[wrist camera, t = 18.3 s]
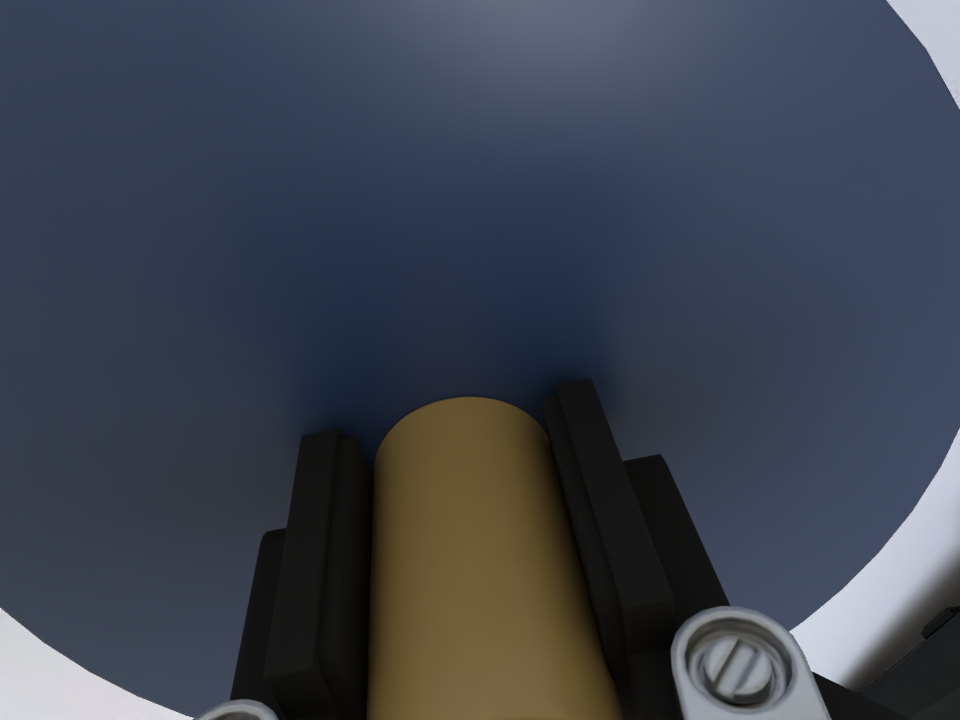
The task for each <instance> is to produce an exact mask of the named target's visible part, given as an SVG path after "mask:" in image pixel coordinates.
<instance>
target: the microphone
mask: <svg viewBox="0 0 960 720" xmlns="http://www.w3.org/2000/svg"><path fill="white" fill-rule="evenodd" d="M921 635H922V636H923V637H924V639H925V640H924V641H923V642H921V643H920V644H919V645H918V646H917V647H915V648H914V649H913V650H912V651H911V652H909V653H908V654H907V655H906V656H905V657H904V658H902V659H901V660H900V661H899V662H898V663H896V664H895V665H894V666H893V667H892V668H890V669H889V670H888V671H887V672H886V673H884V674H883V675H882V676H881V677H880V678H879V679H877V680H876V681H875V682H874V683H873V684H871V685H870V686H869V687H868V688H867V689H865V690H864V691H863V692H862V693H861V694H860V695H861V696H863V697H865V698H867V699H869V700H871V701H873V702H875V703H877V704H879V705H881V706H883V707H885V708H888V709H890V710H892V711H894V712H896V713H898V714H900V715H902V716H904V717H906V718H908V719H910V720H960V606H957V607H951V608H946V609H945V610H943V611H942V612H941V613H940V614H939V615H937V616H936V617H935V618H934V619H933V620H932V621H930V622H929V623H928V624H927V625H926V626H925V627H924V629H923V631H922V633H921Z"/></svg>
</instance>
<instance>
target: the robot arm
mask: <svg viewBox="0 0 960 720" xmlns="http://www.w3.org/2000/svg"><path fill="white" fill-rule="evenodd" d="M543 405H544V411H545V417H546V423H547V429H548V436H549V442H550V448H551V452H552V456H553V459H554V463H555V467H556V471H557V474H558V478H559V482H560V486H561V490H562V493H563V497H564V501H565V505H566V509H567V512H568V516H569V520H570V524H571V527H572V531H573V535H574V539H575V543H576V546H577V550H578V554H579V558H580V562H581V565H582V569H583V573H584V577H585V581H586V584H587V588H588V592H589V596H590V599H591V603H592V607H593V611H594V615H595V618H596V622H597V626H598V630H599V634H600V637H601V641H602V645H603V649H604V652H605V656H606V660H607V664H608V668H609V671H610V674H611V676H612V678H613V680H614V682H615V685H616V689H617V692H618V696H619V700H620V704H621V707H622V711H623V715H624V719H625V720H910V719H908V718H906V717H904V716H902V715H900V714H898V713H896V712H894V711H892V710H890V709H888V708H885V707H883V706H881V705H879V704H877V703H875V702H873V701H871V700H869V699H867V698H865V697H863V696H861V695H859V694H857V693H855V692H853V691H851V690H849V689H847V688H845V687H843V686H841V685H839V684H837V683H835V682H832V681H830V680H828V679H826V678H824V677H822V676H820V675H818V674H816V673H814V672H812V671H811V669H810V667H809V665H808V662H807V660H806V657H805V655H804V653H803V651H802V649H801V648H800V646H799V645H798V643H797V641H796V640H795V638H794V636H793V635H792V634H791V633H790V632H788V631H787V630H786V629H785V628H784V627H783V626H782V625H781V624H780V623H779V622H778V621H776V620H774V619H772V618H770V617H768V616H766V615H765V614H763V613H761V612H759V611H755V610H751V609H747V608H744V607H740V606H730V604H729V601H728V599H727V597H726V595H725V592H724V590H723V588H722V586H721V583H720V581H719V579H718V577H717V575H716V572H715V570H714V568H713V566H712V563H711V561H710V559H709V557H708V554H707V552H706V550H705V548H704V546H703V543H702V541H701V539H700V537H699V534H698V532H697V530H696V528H695V525H694V523H693V521H692V519H691V517H690V514H689V512H688V510H687V508H686V505H685V503H684V501H683V499H682V496H681V494H680V492H679V490H678V488H677V485H676V483H675V481H674V479H673V476H672V474H671V472H670V470H669V467H668V465H667V463H666V461H665V460H664V458H663V457H662V455H661V454H657V455H651V456H646V457H641V458H636V459H631V460H626V461H622V458H621V456H620V453H619V450H618V448H617V445H616V443H615V440H614V437H613V435H612V432H611V429H610V427H609V424H608V421H607V419H606V416H605V413H604V411H603V408H602V405H601V403H600V400H599V397H598V395H597V392H596V389H595V387H594V384H593V382H592V380H591V378H587V379H582V380H577V381H572V382H567V383H562V384H557V385H555V395H551V396H546V397H543ZM372 514H373V481H372V478H371V475H370V473H369V470H368V467H367V464H366V461H365V458H364V456H363V453H362V450H361V447H360V444H359V442H358V439H357V437H356V436H355V435H350V436H344V434H343V432H342V431H341V429H339V428H336V429H331V430H326V431H321V432H316V433H311V434H306V435H303V436H302V437H301V441H300V446H299V452H298V459H297V465H296V471H295V478H294V484H293V490H292V496H291V503H290V509H289V515H288V522H287V527H286V528H281V529H276V530H271V531H266V532H265V534H264V535H263V536H262V539H261V543H260V546H259V552H258V557H257V562H256V567H255V572H254V577H253V582H252V588H251V593H250V598H249V603H248V608H247V613H246V618H245V624H244V629H243V634H242V639H241V644H240V649H239V654H238V660H237V665H236V670H235V675H234V680H233V685H232V691H231V696H230V701H226V702H224V703H221V704H219V705H216V706H214V707H211V708H209V709H207V710H206V711H204V712H203V713H202V714H200V715H199V716H197V717H196V718H194V719H193V720H366V703H367V672H368V640H369V609H370V577H371V546H372Z"/></svg>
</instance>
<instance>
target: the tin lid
mask: <svg viewBox="0 0 960 720" xmlns="http://www.w3.org/2000/svg"><path fill="white" fill-rule="evenodd" d="M587 378H591V380H592V382H593V384H594V387H595V389H596V392H597V395H598V397H599V400H600V403H601V405H602V408H603V411H604V413H605V416H606V419H607V421H608V424H609V427H610V429H611V432H612V435H613V437H614V440H615V443H616V445H617V448H618V450H619V453H620V456H621V458H622V461H626V460H631V459H636V458H641V457H646V456H651V455H657V454H661V455H662V457H663V458H664V460H665V461H666V463H667V465H668V467H669V470H670V472H671V474H672V476H673V479H674V481H675V483H676V485H677V488H678V490H679V492H680V494H681V496H682V499H683V501H684V503H685V505H686V508H687V510H688V512H689V514H690V517H691V519H692V521H693V523H694V525H695V528H696V530H697V532H698V534H699V537H700V539H701V541H702V543H703V546H704V548H705V550H706V552H707V554H708V557H709V559H710V561H711V563H712V566H713V568H714V570H715V572H716V575H717V577H718V579H719V581H720V583H721V586H722V588H723V590H724V592H725V595H726V597H727V599H728V601H729V604H730V606H740V607H744V608H747V609H751V610H755V611H759V612H761V613H763V614H765V615H766V616H768V617H770V618H772V619H774V620H776V621H778V622H779V623H780V624H781V625H782V626H783V627H784V628H785V629H786V630H787V631H788V632H789V631H790V630H792V629H793V628H795V627H796V626H798V625H799V624H800V623H802V622H803V621H804V620H806V619H807V618H808V617H809V616H811V615H812V614H813V613H814V612H815V611H817V610H818V609H819V608H820V607H821V606H823V605H824V604H825V603H826V602H827V601H829V600H830V599H831V598H832V597H833V596H835V595H836V594H837V593H838V592H839V591H841V590H842V589H843V588H844V587H845V586H846V585H847V584H848V583H849V582H850V581H851V580H852V579H853V578H854V577H855V576H856V575H857V574H858V573H859V572H860V571H861V570H862V569H863V568H864V567H865V566H866V565H867V564H868V563H869V562H870V561H871V560H872V559H873V558H874V557H875V556H876V555H877V554H878V553H879V552H880V550H881V549H882V548H883V547H884V545H885V544H886V543H887V542H888V540H889V539H890V538H891V537H892V536H893V534H894V533H895V532H896V531H897V529H898V528H899V527H900V526H901V524H902V523H903V522H904V521H905V520H906V518H907V517H908V516H909V515H910V513H911V512H912V511H913V509H914V508H915V506H916V505H917V503H918V501H919V500H920V498H921V497H922V495H923V494H924V492H925V490H926V489H927V487H928V486H929V484H930V483H931V481H932V480H933V478H934V476H935V475H936V473H937V472H938V470H939V469H940V467H941V465H942V463H943V461H944V459H945V457H946V455H947V453H948V451H949V449H950V447H951V445H952V443H953V440H954V438H955V436H956V434H957V432H958V430H959V428H960V110H959V108H958V106H957V104H956V102H955V100H954V99H953V97H952V95H951V93H950V91H949V90H948V88H947V86H946V84H945V82H944V81H943V79H942V77H941V75H940V73H939V72H938V70H937V68H936V66H935V64H934V63H933V61H932V59H931V57H930V55H929V53H928V52H927V50H926V48H925V47H924V46H923V45H922V43H921V42H920V41H919V40H918V38H917V37H916V36H915V35H914V34H913V32H912V31H911V30H910V29H909V27H908V26H907V25H906V24H905V23H904V21H903V20H902V19H901V18H900V16H899V15H898V14H897V13H896V12H895V10H894V9H893V8H892V7H891V6H890V4H889V3H888V2H887V1H886V0H0V608H1V609H3V610H4V611H5V612H6V613H8V614H9V615H10V616H11V617H13V618H14V619H15V620H16V621H18V622H19V623H20V624H21V625H23V626H24V627H25V628H26V629H28V630H29V631H30V632H31V633H32V634H34V635H35V636H36V637H37V638H39V639H40V640H41V641H42V642H44V643H45V644H47V645H48V646H50V647H52V648H53V649H55V650H56V651H58V652H59V653H61V654H63V655H64V656H66V657H67V658H69V659H70V660H72V661H73V662H75V663H77V664H78V665H80V666H81V667H83V668H84V669H86V670H87V671H89V672H91V673H93V674H95V675H97V676H99V677H101V678H103V679H105V680H107V681H109V682H111V683H113V684H115V685H116V686H118V687H120V688H122V689H124V690H126V691H128V692H130V693H132V694H134V695H136V696H138V697H141V698H143V699H146V700H148V701H151V702H153V703H156V704H158V705H161V706H163V707H166V708H168V709H171V710H174V711H176V712H179V713H181V714H184V715H186V716H189V717H193V718H196V717H197V716H199V715H200V714H202V713H203V712H204V711H206V710H207V709H209V708H211V707H214V706H216V705H219V704H221V703H224V702H226V701H230V696H231V691H232V685H233V680H234V675H235V670H236V665H237V660H238V654H239V649H240V644H241V639H242V634H243V629H244V624H245V618H246V613H247V608H248V603H249V598H250V593H251V588H252V582H253V577H254V572H255V567H256V562H257V557H258V552H259V546H260V543H261V539H262V536H263V535H264V534H265V532H266V531H271V530H276V529H281V528H286V527H287V522H288V515H289V509H290V503H291V496H292V490H293V484H294V478H295V471H296V465H297V459H298V452H299V446H300V441H301V437H302V436H303V435H306V434H311V433H316V432H321V431H326V430H331V429H336V428H339V429H341V431H342V432H343V434H344V436H350V435H355V436H356V437H357V439H358V442H359V444H360V447H361V450H362V453H363V456H364V458H365V461H366V464H367V467H368V470H369V473H370V475H371V478H372V481H373V514H372V546H371V577H370V609H369V640H368V672H367V703H366V720H625V719H624V715H623V711H622V707H621V704H620V700H619V696H618V692H617V689H616V685H615V682H614V680H613V678H612V676H611V674H610V671H609V668H608V664H607V660H606V656H605V652H604V649H603V645H602V641H601V637H600V634H599V630H598V626H597V622H596V618H595V615H594V611H593V607H592V603H591V599H590V596H589V592H588V588H587V584H586V581H585V577H584V573H583V569H582V565H581V562H580V558H579V554H578V550H577V546H576V543H575V539H574V535H573V531H572V527H571V524H570V520H569V516H568V512H567V509H566V505H565V501H564V497H563V493H562V490H561V486H560V482H559V478H558V474H557V471H556V467H555V463H554V459H553V456H552V452H551V448H550V442H549V436H548V429H547V423H546V417H545V411H544V405H543V397H546V396H551V395H555V385H557V384H562V383H567V382H572V381H577V380H582V379H587Z"/></svg>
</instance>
